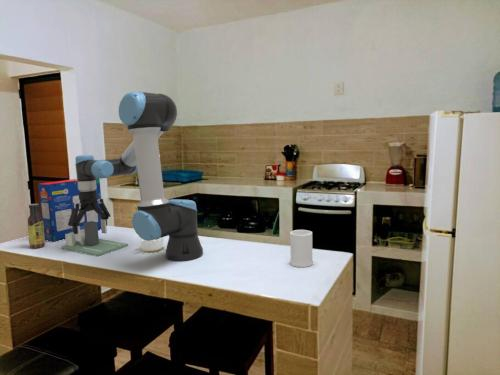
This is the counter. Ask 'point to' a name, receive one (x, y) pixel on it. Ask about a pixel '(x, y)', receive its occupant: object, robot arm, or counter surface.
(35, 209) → the sauce bottle
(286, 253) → the counter surface
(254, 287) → the counter surface
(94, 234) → the striker
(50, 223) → the pasta box
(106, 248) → the pitch
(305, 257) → the mug
